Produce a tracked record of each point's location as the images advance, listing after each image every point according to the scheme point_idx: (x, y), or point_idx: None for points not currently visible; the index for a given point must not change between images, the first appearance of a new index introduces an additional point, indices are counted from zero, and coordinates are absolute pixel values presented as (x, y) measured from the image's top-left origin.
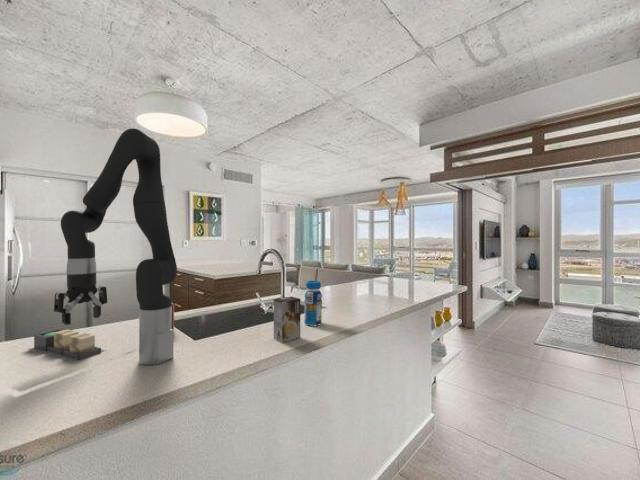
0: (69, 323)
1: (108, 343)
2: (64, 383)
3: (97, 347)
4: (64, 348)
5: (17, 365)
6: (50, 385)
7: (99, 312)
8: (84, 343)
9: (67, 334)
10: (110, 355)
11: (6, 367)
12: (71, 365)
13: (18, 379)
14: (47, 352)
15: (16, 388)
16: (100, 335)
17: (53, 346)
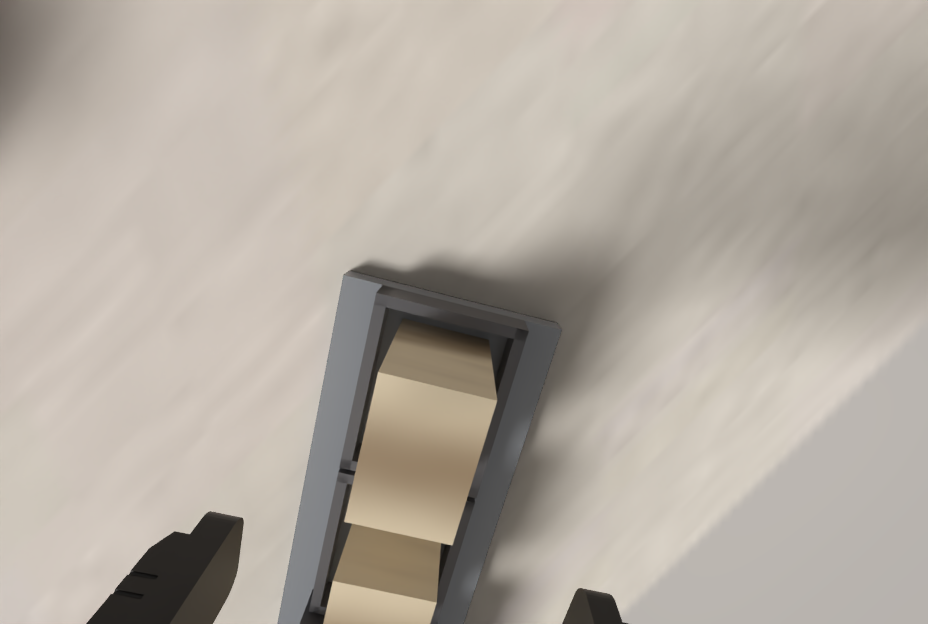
0: (598, 598)
1: (195, 407)
2: (796, 137)
3: (372, 329)
4: None
5: None
6: (819, 200)
7: (164, 570)
8: (468, 373)
9: (413, 600)
10: (370, 213)
11: None
12: None
13: (742, 440)
14: (452, 592)
15: (843, 351)
16: (101, 570)
17: None
